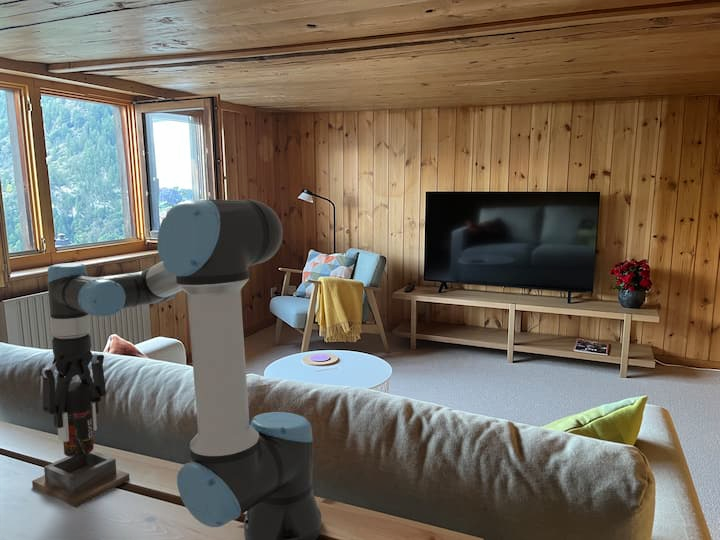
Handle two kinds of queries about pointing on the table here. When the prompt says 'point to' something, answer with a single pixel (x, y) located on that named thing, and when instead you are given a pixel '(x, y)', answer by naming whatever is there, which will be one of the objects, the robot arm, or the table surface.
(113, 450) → the table surface
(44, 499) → the table surface
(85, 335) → the robot arm
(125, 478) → the socket stand
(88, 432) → the deodorant
